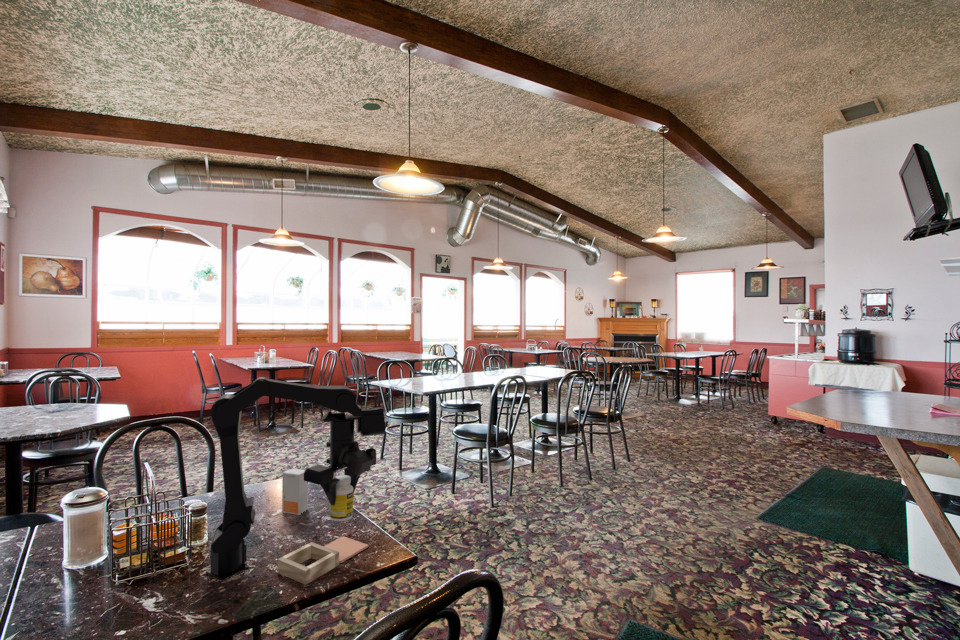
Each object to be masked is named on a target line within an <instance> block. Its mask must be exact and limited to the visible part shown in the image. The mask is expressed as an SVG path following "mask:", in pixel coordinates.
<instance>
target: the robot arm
mask: <svg viewBox="0 0 960 640" xmlns="http://www.w3.org/2000/svg"><path fill="white" fill-rule="evenodd" d="M263 397H268V398H269V397H270V398H276V399H284V400H290V401H295V402H296V401H297V402H298V401H299V402H303V403H304V402H305V403H310V404H316V405H319V406H321V407H324V408H326V409H327V412H326V413H325V414H324V415H323V416H322V417H321V418H322V421H323V423H328V422H330V423H329V426H330V427H329V428H330V429H329V432H330V433H329V434H330V435H329V441H327V442H326V447H327V448H329V458H326V460H325V461H326V464H328V465H329V466H326V465H325V466H324V465H321V464H317V465H313V466H311V467H307V468H305V469H304V470H305V471H304V481H307V482H308V483H310V484H314V485H318V486H320V487H321V488H322V490H323V492H324V494H325V495H326V499H327V500H328V502H329V505H330V504H331V505H335V500H336V484H337V483H338V482H339V480H340V479H337V478H336V477H337V473H338V472H341V471H344V475H347V476H350V477H351V483H350V485H352V486H353V495H354V494H355V491H356V488H357V486H358V485H357V484H358V482H359V479H360V477H361V475H362V474H364V473H367V472H370V471H371V467H372V466H374V465H377V449H375V448H374V447H369V448H368V449H367V448H366V449H360V447H359V446H360V445H359V442H358V440H355V430H356V433H360V436H361V437H369V436H370V437H371V436H381V435H382V436H383V435H385V434H386V430H387V429H386V428H387V425H386V424H387V422H386V419H385V412H384V408H383V407H382V406H380V407H379V406H378V407H375V408H363V409H362V407H361V406H360V404H357V403H356V401H357V398H356V394H355V393H354V392H353V391H352V389H350V387H348V386H346V385H323V386H321V385H319V386H318V385H317V386H315V385H310V384H303V383H302V384H301V383H299V382H298V383H297V382H290V381H283V380H278V379H271V378H268V377H265V376H264V377H263V376H260V377H258V378H256V379H254V381H252V382H251V383H249V384H247V385H246V386H243V387H242V388H240V389H239V390H237V391H236V392H233V393H226V394H223V395H221V396H219V397H218V398H217V399H216V400H215V402H214V403H213V405H211V407H210V412H209V413H210V417H211V420H212V422H213V423H212V424H213V426H214V429H215V432H216V434H217V436H218V439H219V443H220V457H221V465H222V466H221V467H222V473H223V474H222V476H223V485H224V487H223V488H224V497H225V502H224V508H223V517H222V522H221V523H220V524H219V525H218V526H217V527H216V528H215V530H214V533H213V537H212V540H211V543H210V548H209V549H210V550H209V551H210V552H209V553H210V554H209V555H210V556H209V557H210V560H209V563H210V565H209V567H210V568H208V569H207V570H206V572H205V573H206V574H208V575H209V576H212V577H214V578H216V579H218V580H220V581H225V580H226V579H230V578H231V577H233V576H236V575H237V574H240V573H241V572H243V571H245V570H248V569H249V568H250V565H249V564H248V563H246V562H247V544H246V543H245V542H246V540H245V538H246V537H247V536H248V535H249V534H250V532H251V529H252V528H251V527H252V525H254V523H255V518H256V517H255V516H256V510H255V509H254V498H255V497H254V496H250V497H248V496H247V494H246V491H245V486H244V485H245V483H244V475H243V472H244V471H243V463H242V452H241V441H240V429H241V428H240V427H241V421H242V411H243V410H245V409H247V408H248V407H250V406H251V405H252V404H254V403H255V402H257V401H258V400H259V399H261V398H263ZM331 410H332V411H335V412H332V411H331ZM346 413H348V414H350V415H347V414H346Z"/></svg>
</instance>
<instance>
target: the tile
mask: <svg viewBox="0 0 960 640" xmlns="http://www.w3.org/2000/svg"><path fill="white" fill-rule="evenodd" d="M324 547H327V548H329V549H332V550H335V551H337V552H339V564H342V563H344V562H345V561H347V560H349V559H350V558H351V559H352V558H353V557H354V556H356V555H357V554H359V553H360V552H362V551H364V550H366V549H367V548H369V544H367V543H364V542H361V541H359V540H356V539H355V540H354V539H352V538H349V537H346V536H344V535H343V536H342V535H341V536H340V537H339V538H337V539H334V540H333V541H331V542H329V543H327V544H325V545H324Z"/></svg>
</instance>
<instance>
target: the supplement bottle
mask: <svg viewBox="0 0 960 640" xmlns="http://www.w3.org/2000/svg"><path fill="white" fill-rule="evenodd" d="M336 478H337V479H340V480H339V482H338V483H337V484H336V500H335V505H331V504H330V503H329V505H330V511H329V514H330V515H329V517H330V520H332V521H333V522H345V521H349V520H350V519H352V518H353V515H354V494H353V486H352V485H350V483H351V477H350V476H347V475H345V474H343V475H336Z"/></svg>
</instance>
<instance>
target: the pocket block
mask: <svg viewBox="0 0 960 640" xmlns="http://www.w3.org/2000/svg"><path fill="white" fill-rule="evenodd" d="M324 546H325V545H324ZM324 546H323V545H321V544H318V543H315V542H313V541H311V542H308V543H307V544H304V545H303V546H301V547H299V548H298V549H294V550H293V551H290V552H289V553H287V554H285V555H283V556H281V557H279V558H278V559H277V573H278V574H280V575H282V576H285V577H287V578H290V579H291V580H293V581H296V582H298V583H301V584H303V585H308V584H310V583H311V582H313V581H315V580H316V579H318V578H319V577H321V576H323V575H325V574H327V573H328V572H330V571H331V570H333V569H334V568H337V567H338V566H340V563H339V552H337V551H335V550H332V549H329V548H327V547H324ZM310 559H313V560H315V561H314V562H313V563H311V564H309V565H307V566H305V565H303V563H304V562H306V561H307V560H310Z"/></svg>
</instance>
